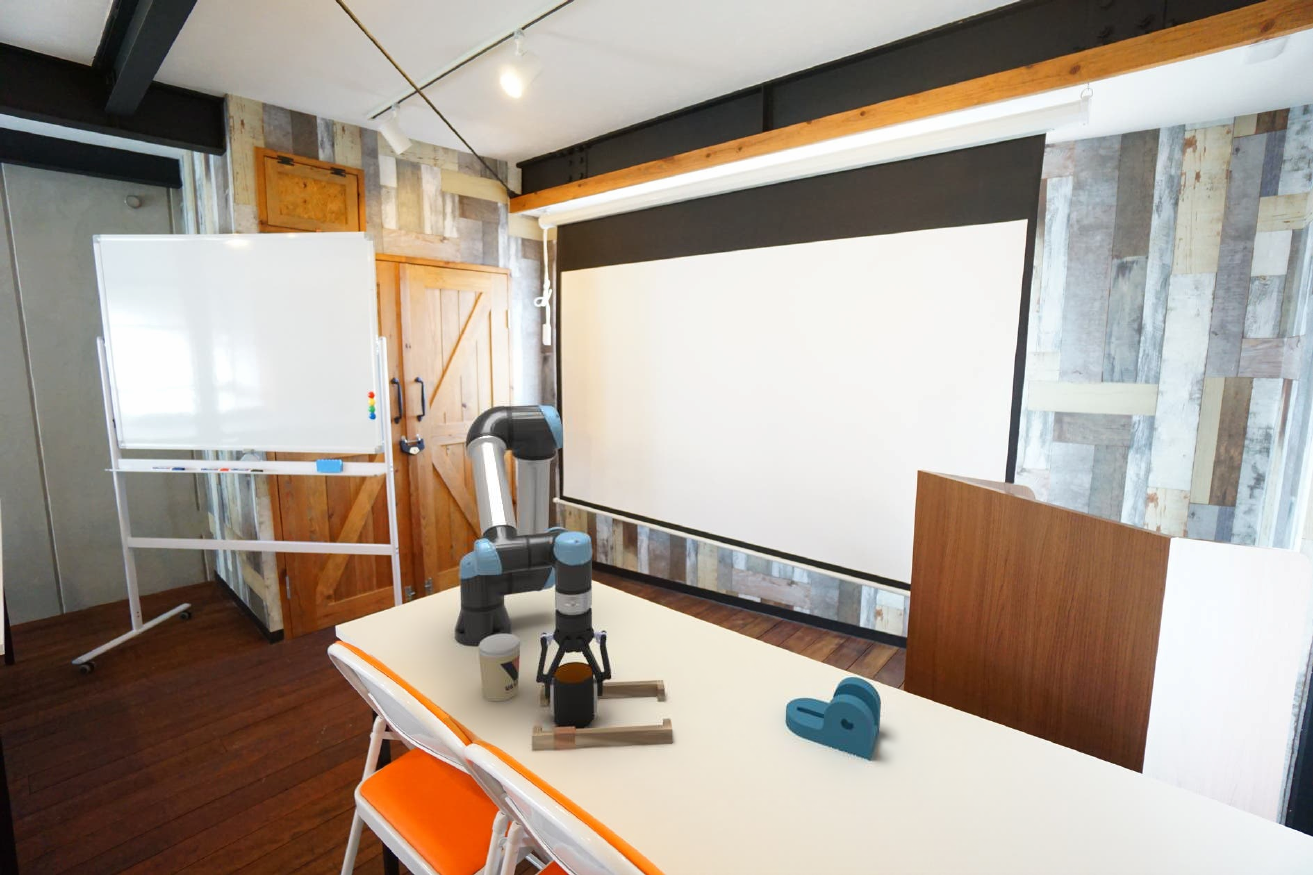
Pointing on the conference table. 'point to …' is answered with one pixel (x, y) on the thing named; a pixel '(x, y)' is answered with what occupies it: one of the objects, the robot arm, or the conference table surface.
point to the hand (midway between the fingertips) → (574, 710)
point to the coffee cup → (499, 666)
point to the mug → (573, 695)
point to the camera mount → (839, 718)
